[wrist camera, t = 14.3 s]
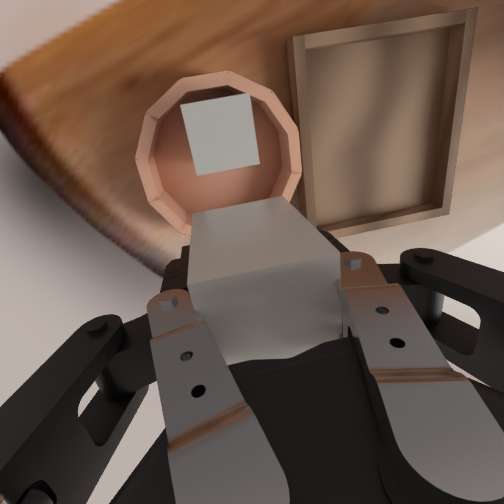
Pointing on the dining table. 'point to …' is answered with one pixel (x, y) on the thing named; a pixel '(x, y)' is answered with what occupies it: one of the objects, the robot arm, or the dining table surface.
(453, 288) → the robot arm
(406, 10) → the dining table surface
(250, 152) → the light grey block
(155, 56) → the dining table surface
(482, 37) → the dining table surface
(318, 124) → the tray
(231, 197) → the bowl
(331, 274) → the white rectangular block
